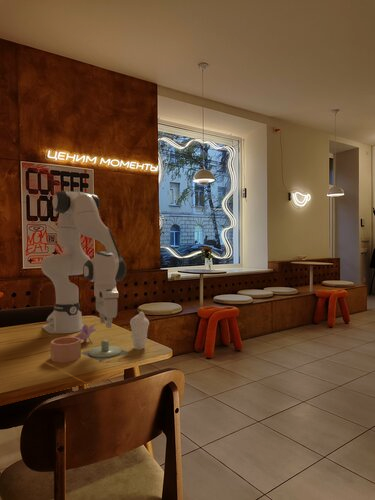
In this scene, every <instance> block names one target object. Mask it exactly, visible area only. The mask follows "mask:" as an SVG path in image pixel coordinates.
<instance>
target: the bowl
mask: <svg viewBox="0 0 375 500" xmlns="http://www.w3.org/2000/svg"><path fill="white" fill-rule="evenodd" d="M81 340H82V339H80V338H78V337H75V336H63V337H59V338H58V337H57V338H55V339H52V340H51V341H50V361H51V362H53V363H60V364H61V363H62V364H63V363H70V362H75V361H77V360H79V359H81V357H82V353H81V351H82V350H81V349H82V347H81V345H82V341H81Z"/></svg>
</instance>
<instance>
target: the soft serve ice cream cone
mask: <svg viewBox="0 0 375 500" xmlns="http://www.w3.org/2000/svg"><path fill="white" fill-rule="evenodd" d="M129 325H130V329H131V338H132V342H133V343H132V344H133V347H134V349H135V350H143V348H144V349H145V347H146V342H147V338H148V330H149V325H150V321H149V319H148V318H147V317H146V315H145V313H144V312H143V311H139V313H138V314H136V315H135V316H133V317H132V318H130V320H129Z"/></svg>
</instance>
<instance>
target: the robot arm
mask: <svg viewBox="0 0 375 500" xmlns="http://www.w3.org/2000/svg"><path fill="white" fill-rule="evenodd" d="M100 206H101V202H100V198H99V197H98V195H96V194H94V193H87V192H83V191H65V190H61V191H60V190H59V191H56V192H55V193H54V195H53V197H52V208H53V210H54V211H55V212H56V213H58V219H57V232H56V234H57V235H56V241H57V244H59V245H60V246H61V247H63V248H65V250H66V253H65V254H64V253H63V254H61V253H60V254H52V255H51V254H50V255H48V256H44V257H43V259H42V260H41V263H40V268H41V271H42V274H43V275H45V276H46V277H47V278H49V279H50V280H51V282H52V284H53V287H54V292H55V303H54V304H53V311H52V312H51V313H50V314H49V315H48V316H47V318H46V320H45V321H46V324H45V325H42V329H43V330H45V331H46V332H47V333H49V334H52V335H53V334H72V333H73V334H74V333H76V332H81V329H82V327H83V325H84V324H83V316H82V314H83V313H82V311H80V306H81V304H80V302H79V300H80V296H79V295H80V294H79V292H80V291H79V290H80V289H79V287H78V285H76V284H75V283H73V282H71V281H70V279H69V276H79V275H82V276H83V277H84V278H85V279H86V281H88V282H91V283H93V282H94V283H93V291H94V293H93V294H94V297H95V310H96V311H97V312H98V313H99V314H98V315H99V321H100V323H101V324H105V327H106V328H108V329H110V328H112V323H113V319H115V318H116V317H117V315H118V303H119V302H118V299H119V296H120V295H119V291H118V289H117V282H120V281H122V280H123V279H124V278H125V277H126V275H127V272H128V268H127V264H126V262H125V261H124V258H123V257H122V255H121V253H120V251H119V250H120V249H119V247H118V245H117V242H116V240H115V238H114V235H113V233H112V231H111V229H110V228H109V227H108V226H106V225H105V223H104V222H103V221H102V219H101V216H100V212H99V210H100ZM81 235H82V236H84V237H86V238H90V239H93V240H95V241H98V242H99V243H101V244H102V245H103V246H104V249H105V250H104V251H101V250H100V251H97V252H95V253H94V257H92V258H90V256H88V255H87V253H85V251H84V250H83V247H82V242H81Z"/></svg>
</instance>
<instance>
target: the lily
mask: <svg viewBox="0 0 375 500" xmlns="http://www.w3.org/2000/svg"><path fill="white" fill-rule="evenodd" d="M82 325H83V327H82V329H81V330H80V333H78V334H77V335H75V336H74V337H78V338H80V339H81V340H82V341H83V342H86V341H88V339H89V341H90V342H89V343H91V345H94V344H93V342H92V340H91V338H90V335H91V334H92V333H94V332H95V331H97V329H96V328H94V327H95V326H96V323H94V324H92V325H91V326H90V327H89V325H88V324H85V323H84V324H82Z"/></svg>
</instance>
